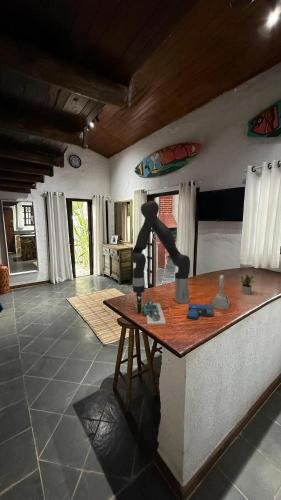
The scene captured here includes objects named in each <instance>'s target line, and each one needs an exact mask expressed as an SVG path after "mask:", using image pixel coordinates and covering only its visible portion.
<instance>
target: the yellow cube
mask: <svg viewBox="0 0 281 500" xmlns="http://www.w3.org/2000/svg"><path fill="white" fill-rule="evenodd" d="M138 304H141V305H142V306H141V312H140V313H144V301H142V302H141V303H138ZM134 306H135V313H139V312H138V306H137V301H135V302H134Z"/></svg>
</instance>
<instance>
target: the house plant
mask: <svg viewBox="0 0 281 500" xmlns="http://www.w3.org/2000/svg"><path fill="white" fill-rule="evenodd" d="M238 274H239V276H240V278H241V280H239V283H242V284H241V290H242V294H243V295H247V296H249V295H251V292H252V288H253V285H252V284H254V283H257V281H253V280H255V278H256V275H255V274H253V275H252V276H250V274H249V272H247V273H245V278H244V276H242V274H240V273H238Z"/></svg>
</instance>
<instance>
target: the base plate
mask: <svg viewBox="0 0 281 500" xmlns="http://www.w3.org/2000/svg"><path fill="white" fill-rule="evenodd" d="M144 305H147V303H144ZM153 305H157V306H158V310H159V315H160V320H158V321H153V320H152V317H151V318H150V317H149V315H145V316H146V322H147V326H155V325H156V326H158V325H166V324H167V323H166V319H165V316H164V312H163V310H162V306H161V304H160V302H154V303H153Z"/></svg>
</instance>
